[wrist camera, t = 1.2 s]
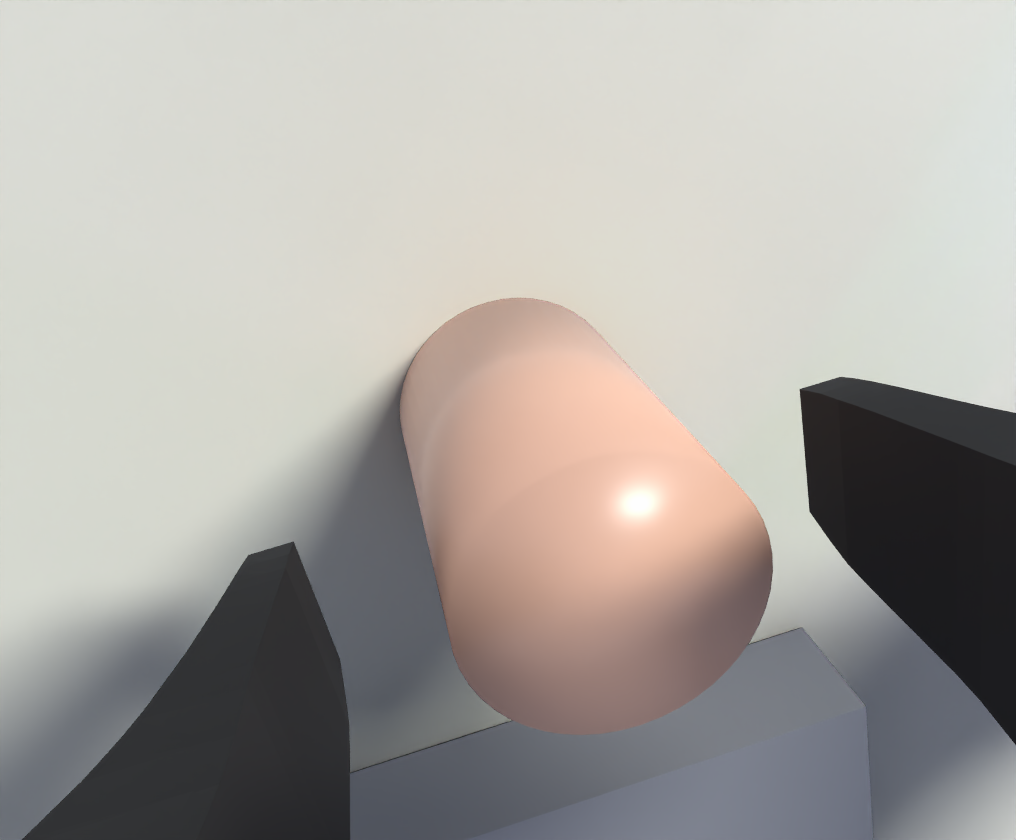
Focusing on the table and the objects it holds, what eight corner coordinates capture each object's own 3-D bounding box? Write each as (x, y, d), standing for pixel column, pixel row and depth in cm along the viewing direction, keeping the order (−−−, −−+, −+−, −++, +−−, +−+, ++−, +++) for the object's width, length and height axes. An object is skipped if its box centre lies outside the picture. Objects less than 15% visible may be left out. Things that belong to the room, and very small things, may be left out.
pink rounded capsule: (599, 270, 15) (756, 408, 10) (635, 470, 17) (785, 677, 12) (372, 334, 15) (407, 511, 10) (432, 531, 17) (491, 774, 11)
